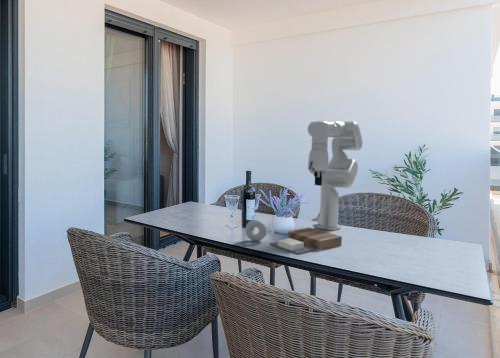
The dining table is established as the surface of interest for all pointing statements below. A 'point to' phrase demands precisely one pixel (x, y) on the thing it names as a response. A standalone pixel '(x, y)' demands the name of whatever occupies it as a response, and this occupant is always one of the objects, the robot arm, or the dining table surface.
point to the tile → (290, 244)
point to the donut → (252, 235)
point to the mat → (298, 251)
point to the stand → (315, 238)
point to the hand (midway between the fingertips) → (318, 185)
